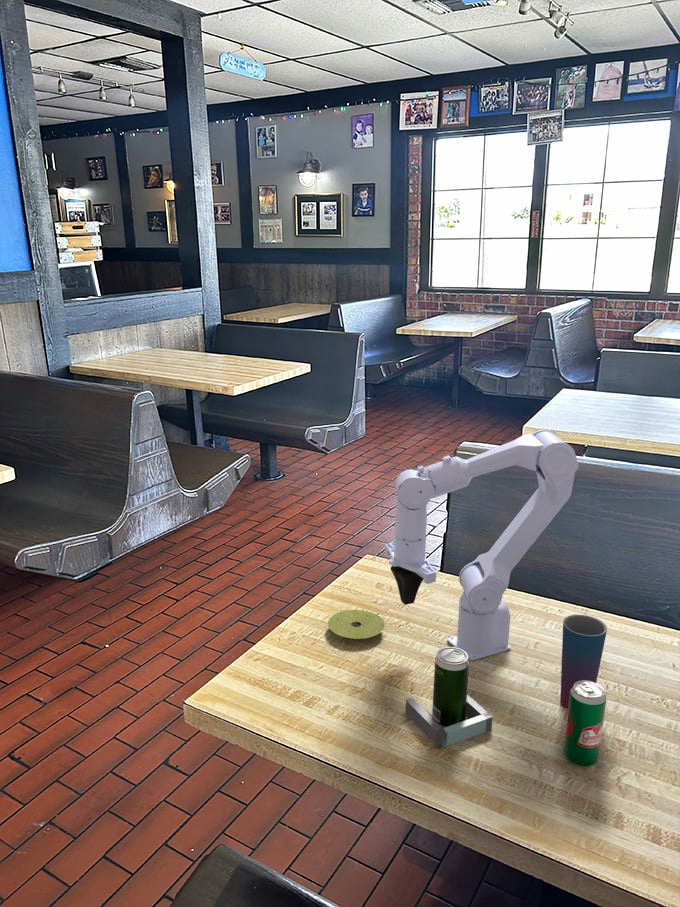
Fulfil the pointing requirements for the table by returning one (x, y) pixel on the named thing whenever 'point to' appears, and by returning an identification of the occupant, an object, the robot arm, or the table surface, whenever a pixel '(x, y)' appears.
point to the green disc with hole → (356, 624)
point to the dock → (454, 733)
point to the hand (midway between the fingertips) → (407, 602)
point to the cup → (580, 652)
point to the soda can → (584, 723)
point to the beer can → (450, 686)
